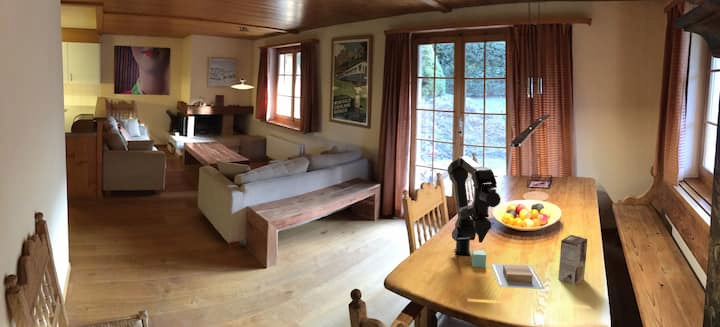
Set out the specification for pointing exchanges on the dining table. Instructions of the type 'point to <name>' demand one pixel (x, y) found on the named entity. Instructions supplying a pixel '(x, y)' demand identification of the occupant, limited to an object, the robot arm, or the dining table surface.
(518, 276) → the plinth
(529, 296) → the dining table surface
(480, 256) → the teal block
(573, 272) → the coffee box
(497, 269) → the board
